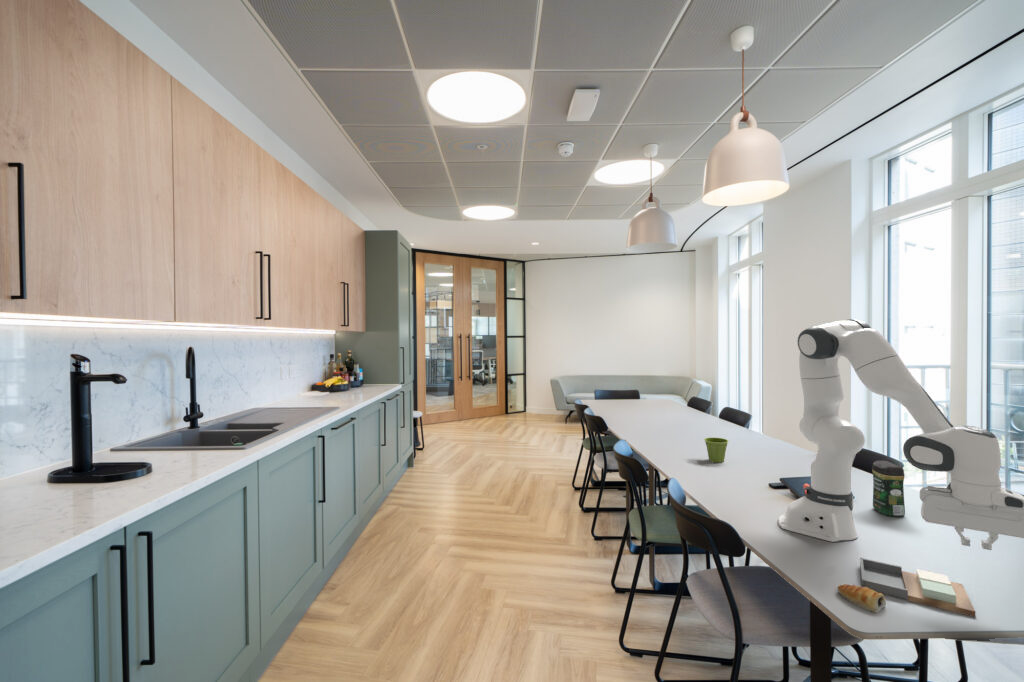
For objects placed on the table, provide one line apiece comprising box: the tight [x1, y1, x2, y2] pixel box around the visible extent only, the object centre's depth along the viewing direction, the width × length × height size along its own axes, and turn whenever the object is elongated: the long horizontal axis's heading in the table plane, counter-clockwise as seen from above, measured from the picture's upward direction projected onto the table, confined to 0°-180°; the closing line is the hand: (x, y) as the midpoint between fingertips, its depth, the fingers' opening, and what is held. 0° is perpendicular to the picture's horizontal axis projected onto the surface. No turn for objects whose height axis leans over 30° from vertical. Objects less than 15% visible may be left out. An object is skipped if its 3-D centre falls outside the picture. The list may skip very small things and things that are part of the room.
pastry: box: [837, 583, 887, 613], centre depth 113 cm, size 9×7×4 cm
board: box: [902, 570, 976, 618], centre depth 115 cm, size 12×14×1 cm
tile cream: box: [916, 568, 951, 586], centre depth 117 cm, size 6×5×2 cm
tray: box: [859, 557, 908, 601], centre depth 121 cm, size 9×14×2 cm, turn 144°
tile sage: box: [920, 579, 956, 604], centre depth 113 cm, size 6×5×2 cm
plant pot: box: [703, 436, 730, 464], centre depth 237 cm, size 12×12×11 cm
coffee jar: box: [871, 460, 906, 518], centre depth 166 cm, size 10×8×19 cm
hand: (975, 546), depth 113 cm, fingers closed
